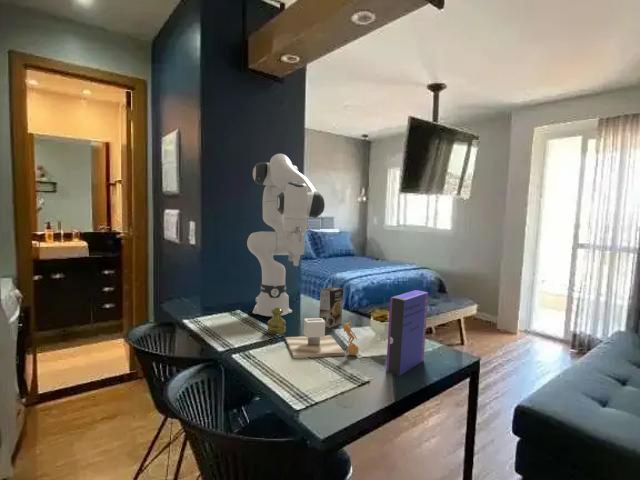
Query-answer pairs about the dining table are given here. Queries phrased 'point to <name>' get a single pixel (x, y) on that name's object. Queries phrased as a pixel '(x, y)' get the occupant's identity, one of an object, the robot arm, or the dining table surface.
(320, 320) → the keyed cap
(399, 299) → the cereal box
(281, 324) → the gold vase
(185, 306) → the dining table surface
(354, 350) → the figurine
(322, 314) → the coffee box
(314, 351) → the block
